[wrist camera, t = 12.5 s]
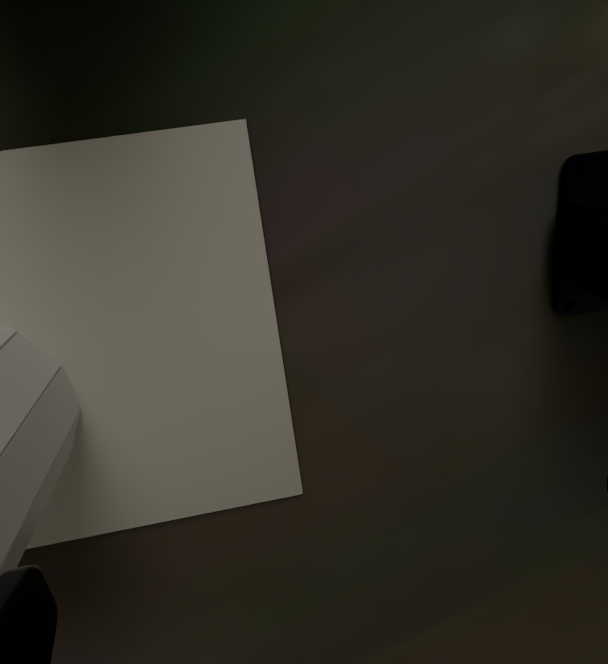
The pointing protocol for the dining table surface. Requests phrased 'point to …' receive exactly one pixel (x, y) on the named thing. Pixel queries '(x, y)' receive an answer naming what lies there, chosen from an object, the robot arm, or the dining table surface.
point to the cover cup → (30, 438)
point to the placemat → (150, 323)
